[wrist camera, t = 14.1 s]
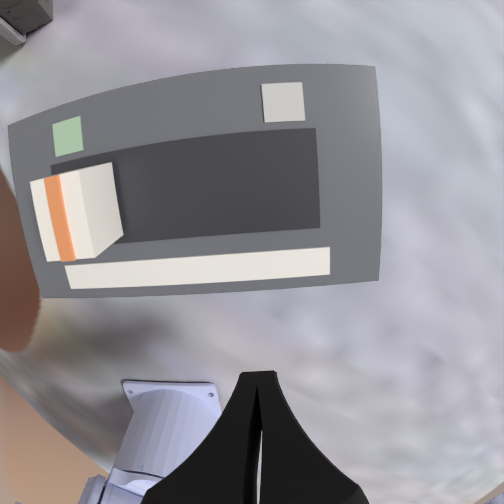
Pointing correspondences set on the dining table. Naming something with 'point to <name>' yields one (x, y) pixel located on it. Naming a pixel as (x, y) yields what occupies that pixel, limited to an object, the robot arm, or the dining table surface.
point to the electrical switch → (23, 18)
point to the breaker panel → (218, 181)
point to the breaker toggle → (77, 212)
